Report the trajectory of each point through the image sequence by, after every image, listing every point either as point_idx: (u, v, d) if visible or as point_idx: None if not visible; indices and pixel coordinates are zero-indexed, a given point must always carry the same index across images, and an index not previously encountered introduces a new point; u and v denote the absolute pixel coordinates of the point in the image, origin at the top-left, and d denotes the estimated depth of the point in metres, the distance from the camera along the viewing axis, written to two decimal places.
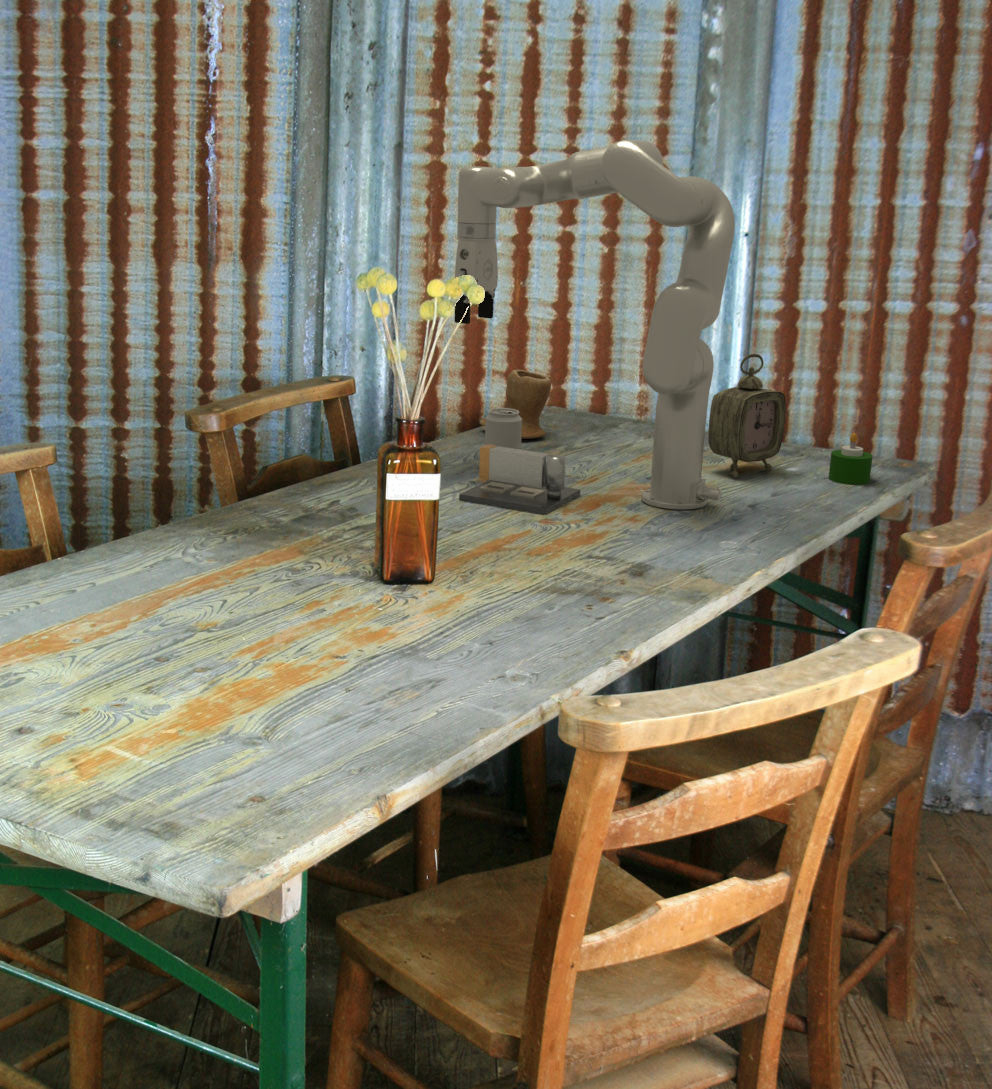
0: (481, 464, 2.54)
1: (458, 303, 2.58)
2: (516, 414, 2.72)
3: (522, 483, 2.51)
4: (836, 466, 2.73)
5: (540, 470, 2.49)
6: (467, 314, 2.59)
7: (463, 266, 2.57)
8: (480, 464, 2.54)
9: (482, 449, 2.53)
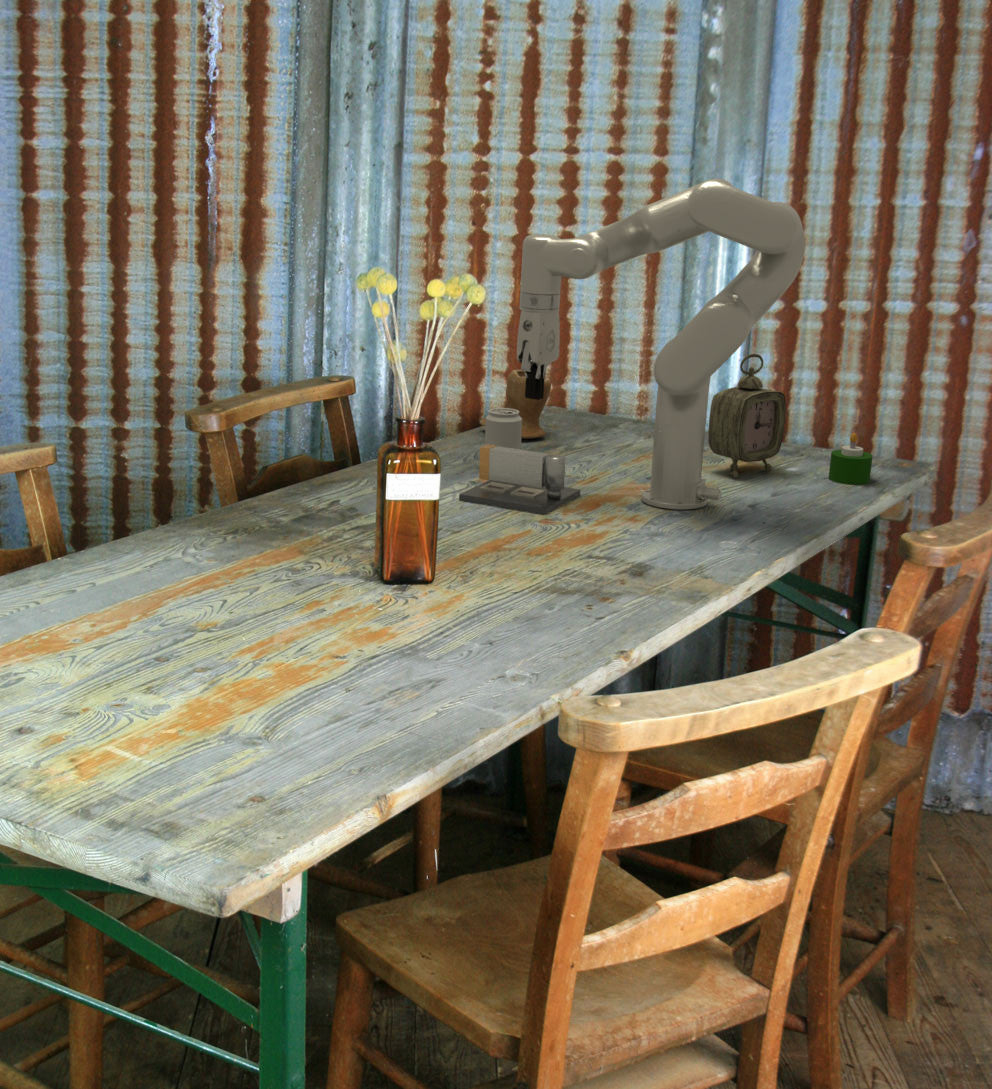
0: (481, 464, 2.54)
1: (529, 379, 2.53)
2: (516, 414, 2.72)
3: (522, 483, 2.51)
4: (836, 466, 2.73)
5: (540, 470, 2.49)
6: (538, 390, 2.54)
7: (526, 338, 2.48)
8: (480, 464, 2.54)
9: (482, 449, 2.53)
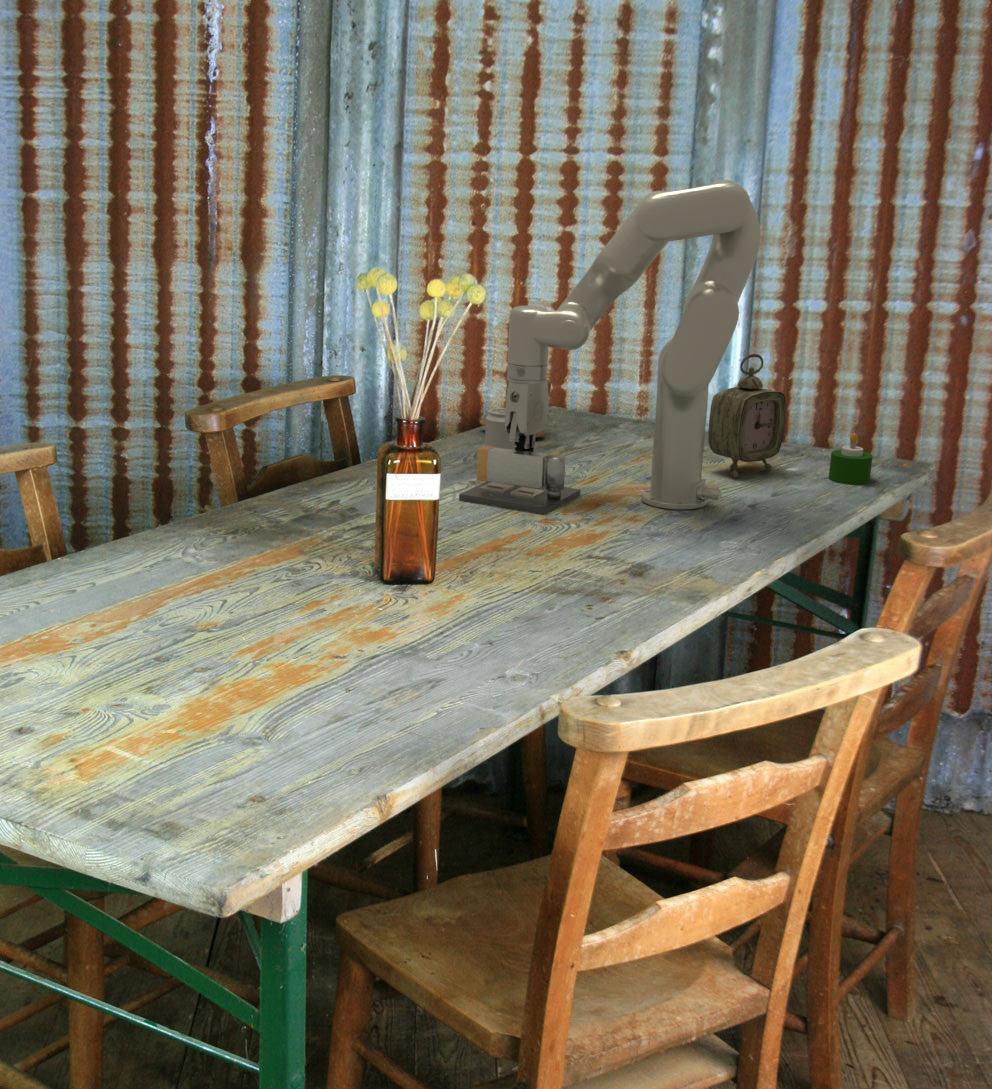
0: (479, 465, 2.53)
1: (518, 448, 2.54)
2: None
3: (522, 484, 2.51)
4: (836, 466, 2.73)
5: (540, 470, 2.49)
6: None
7: (513, 409, 2.48)
8: (478, 465, 2.53)
9: (480, 450, 2.52)
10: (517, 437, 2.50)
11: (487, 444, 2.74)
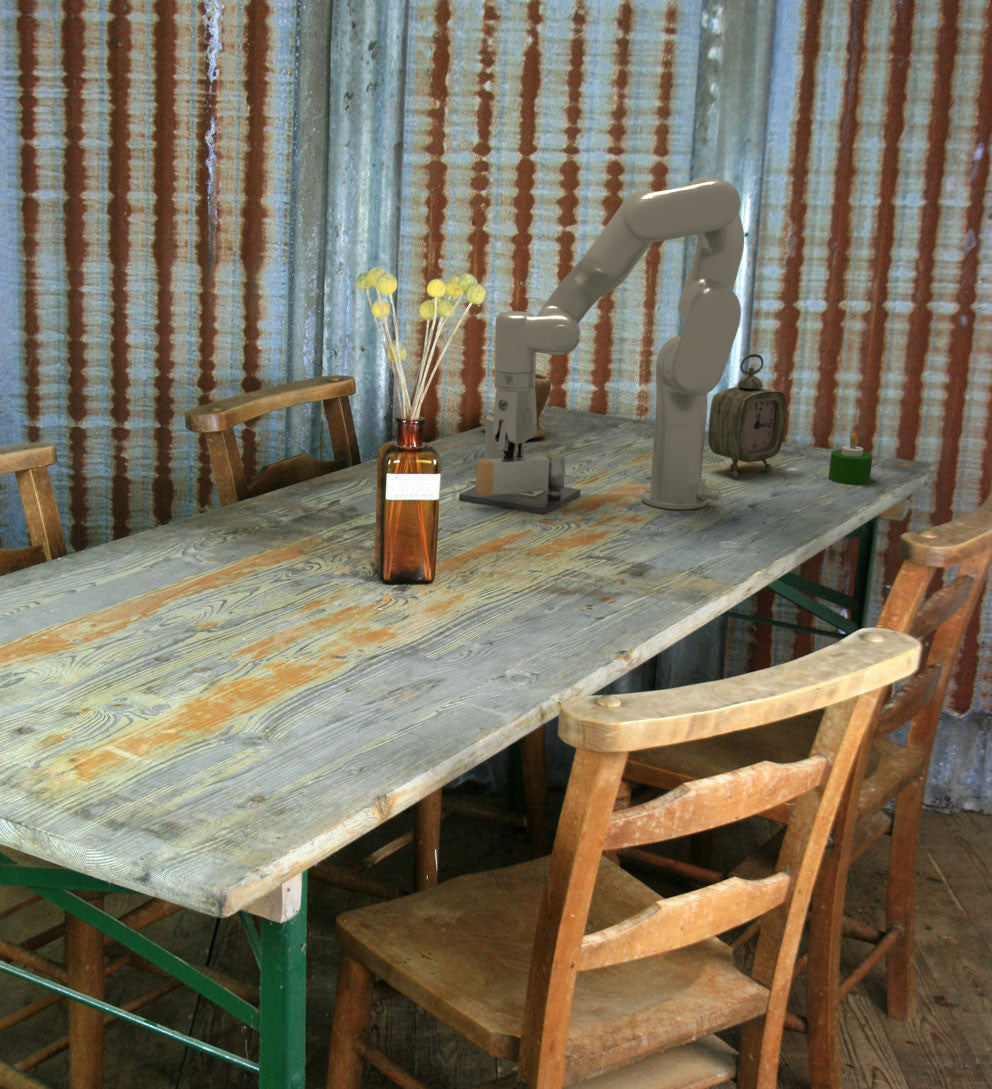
0: (484, 480, 2.43)
1: (507, 457, 2.48)
2: None
3: (528, 490, 2.47)
4: (836, 466, 2.73)
5: (546, 473, 2.47)
6: None
7: (502, 417, 2.43)
8: (483, 481, 2.42)
9: (485, 464, 2.42)
10: (506, 446, 2.45)
11: (487, 444, 2.74)
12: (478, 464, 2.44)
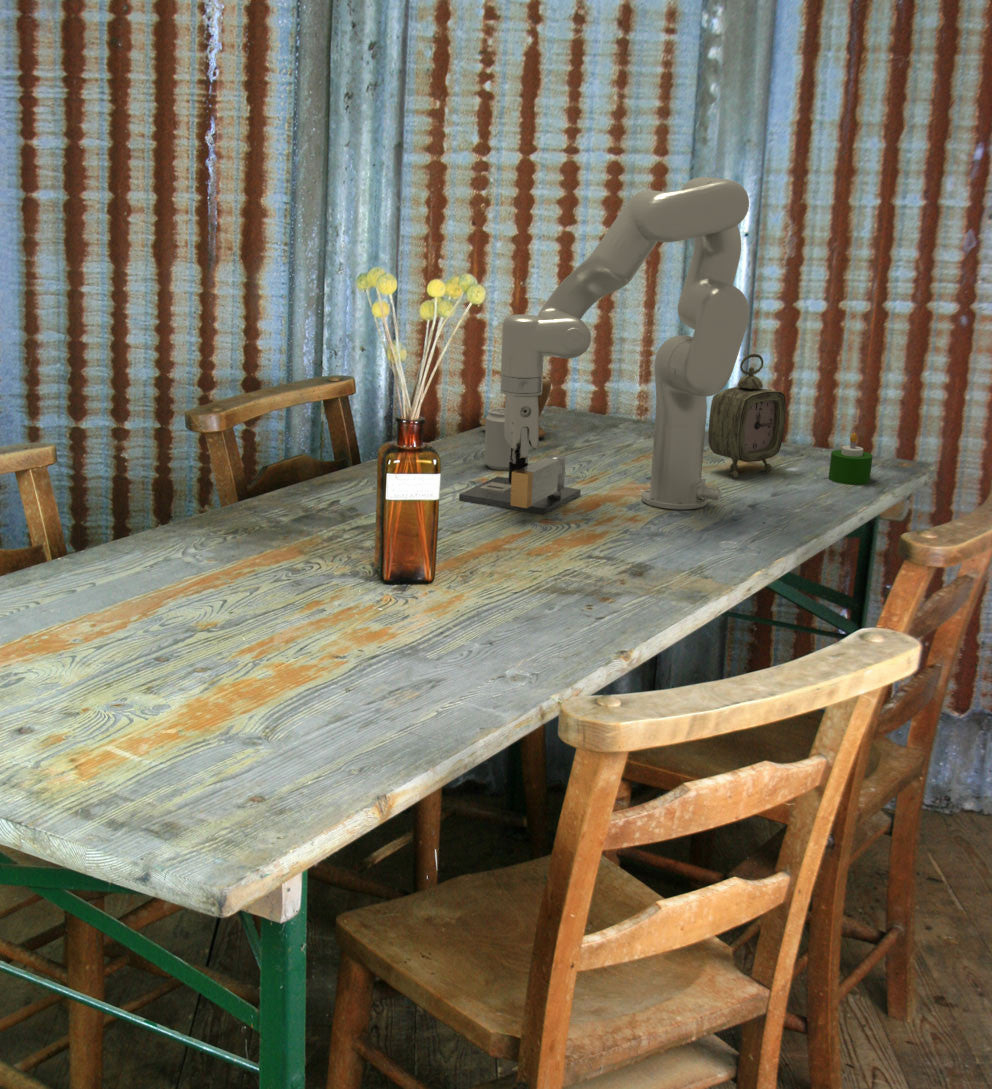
0: (528, 491, 2.36)
1: (517, 465, 2.42)
2: None
3: (548, 494, 2.44)
4: (836, 466, 2.73)
5: (557, 474, 2.46)
6: None
7: (525, 424, 2.36)
8: (527, 492, 2.36)
9: (528, 475, 2.35)
10: None
11: (487, 444, 2.74)
12: (516, 476, 2.36)
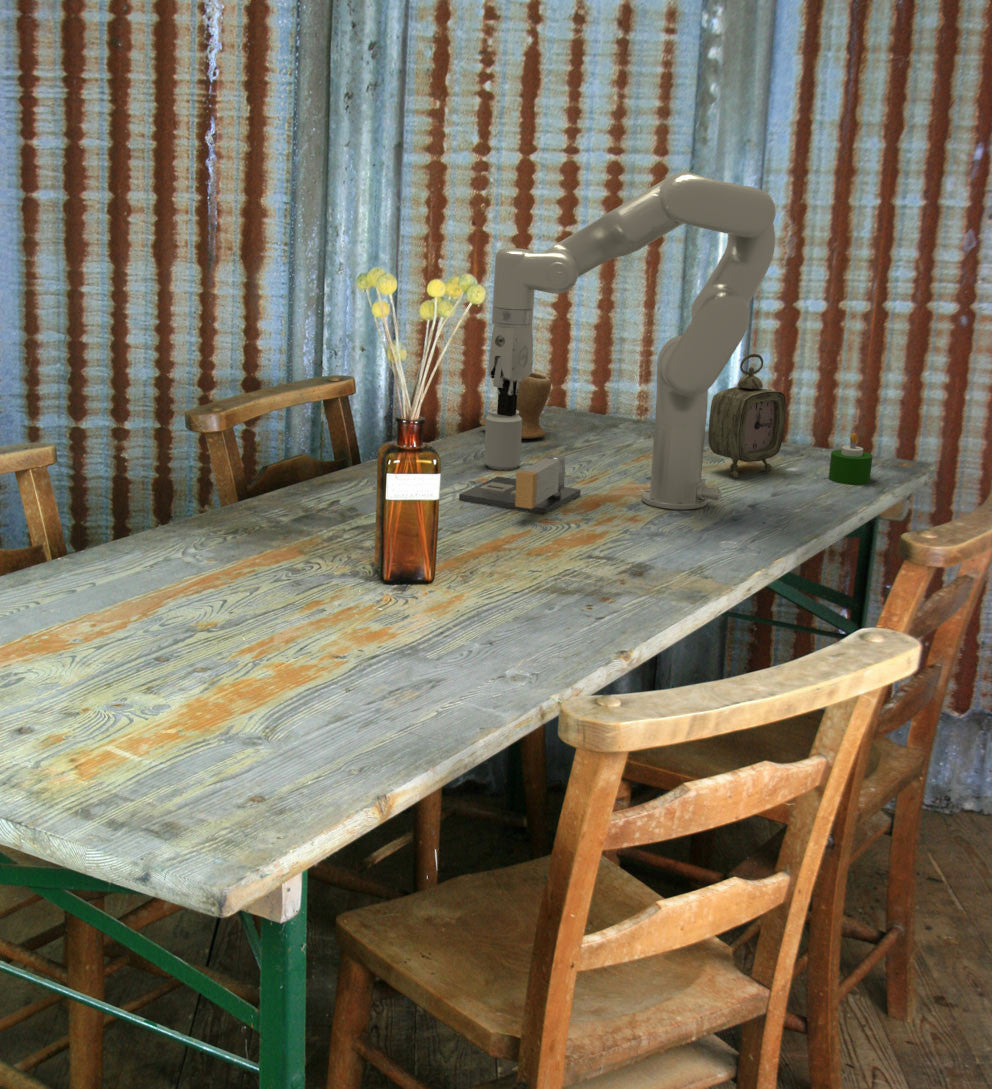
0: (533, 492, 2.36)
1: (502, 395, 2.48)
2: (516, 414, 2.72)
3: (550, 494, 2.44)
4: (836, 466, 2.73)
5: (558, 474, 2.46)
6: (511, 406, 2.49)
7: (498, 353, 2.43)
8: (532, 493, 2.36)
9: (533, 476, 2.35)
10: (501, 383, 2.45)
11: (487, 444, 2.74)
12: (520, 477, 2.35)
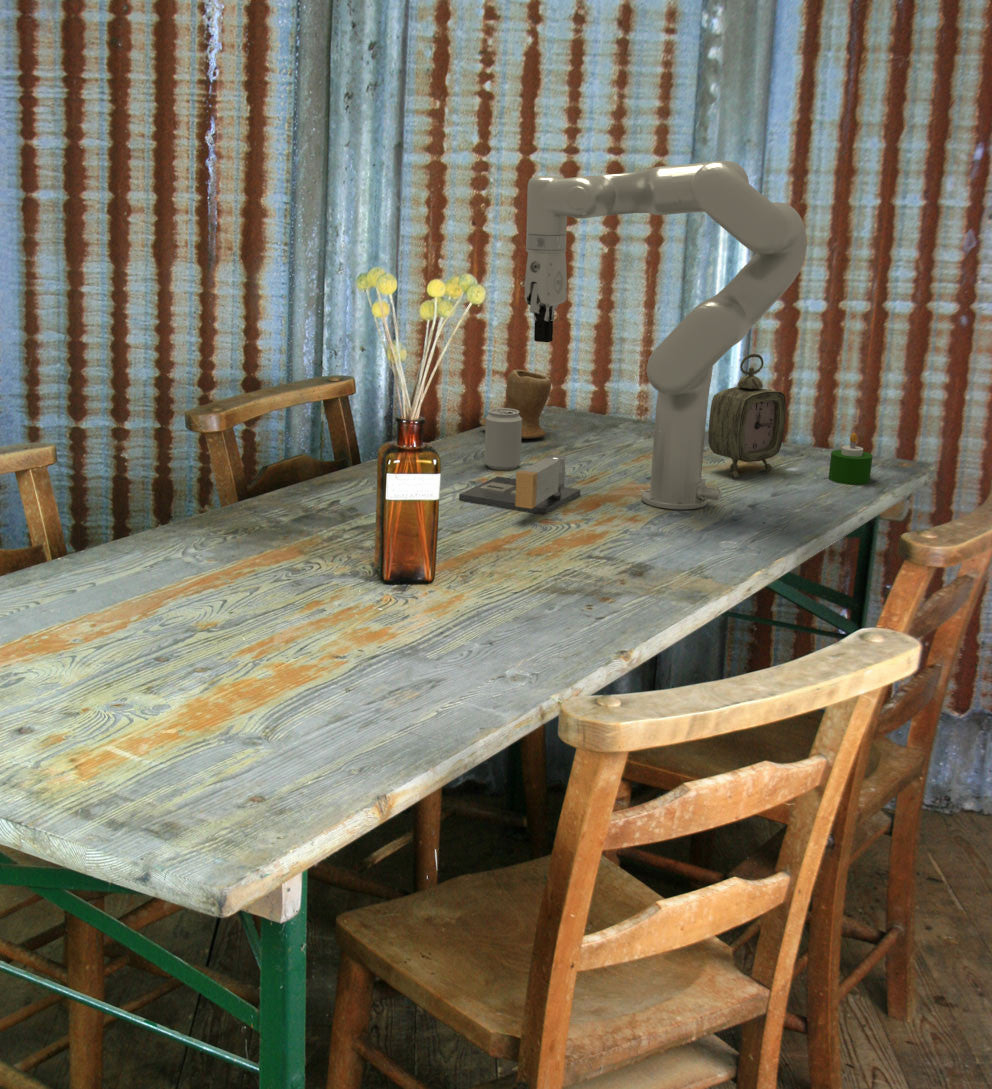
0: (533, 492, 2.36)
1: (538, 321, 2.54)
2: (516, 414, 2.72)
3: (550, 494, 2.44)
4: (836, 466, 2.73)
5: (558, 474, 2.46)
6: (547, 332, 2.54)
7: (534, 279, 2.48)
8: (532, 493, 2.36)
9: (533, 476, 2.35)
10: (538, 308, 2.50)
11: (487, 444, 2.74)
12: (520, 477, 2.35)
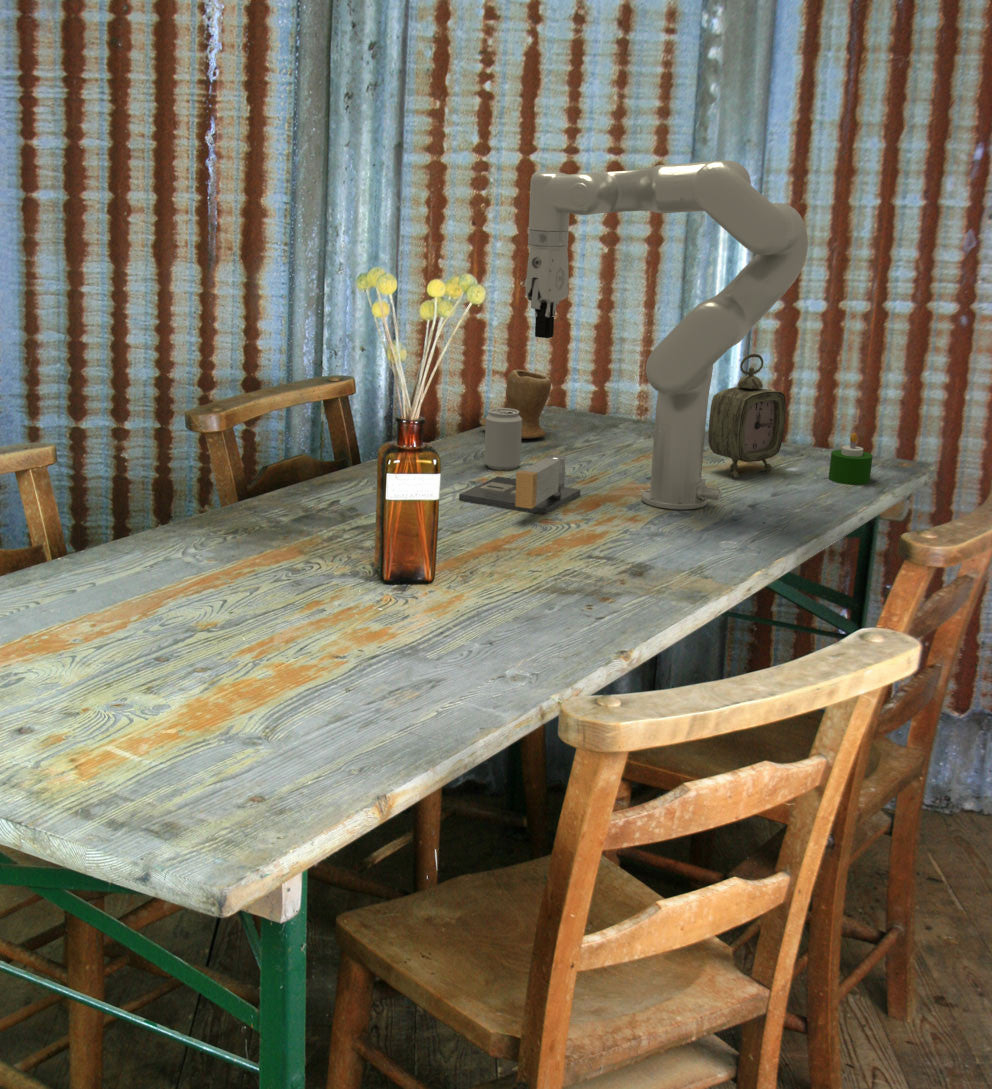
0: (533, 492, 2.36)
1: (539, 317, 2.54)
2: (516, 414, 2.72)
3: (550, 494, 2.44)
4: (836, 466, 2.73)
5: (558, 474, 2.46)
6: (548, 328, 2.55)
7: (535, 275, 2.49)
8: (532, 493, 2.36)
9: (533, 476, 2.35)
10: (539, 304, 2.51)
11: (487, 444, 2.74)
12: (520, 477, 2.35)
